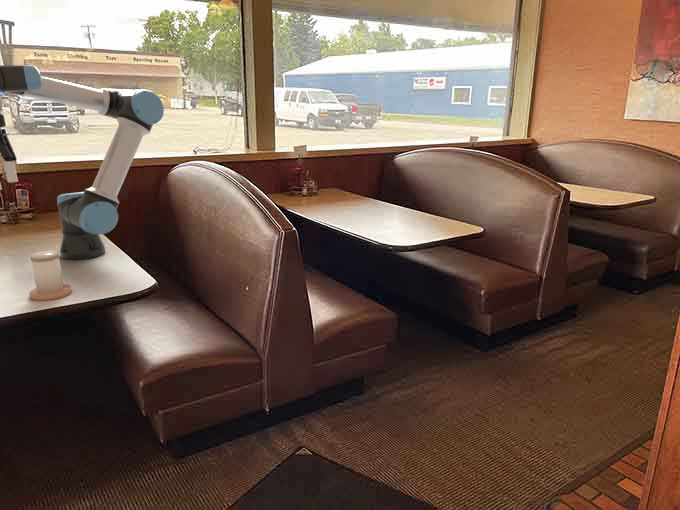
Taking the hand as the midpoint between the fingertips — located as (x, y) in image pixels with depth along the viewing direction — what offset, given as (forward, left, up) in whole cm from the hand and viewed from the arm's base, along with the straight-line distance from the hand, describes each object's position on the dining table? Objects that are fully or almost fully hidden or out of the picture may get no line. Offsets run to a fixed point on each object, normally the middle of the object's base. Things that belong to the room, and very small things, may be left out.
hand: (5, 185), depth 158 cm
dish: (+17, +13, -30) cm, 37 cm away
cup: (+17, +13, -29) cm, 36 cm away
